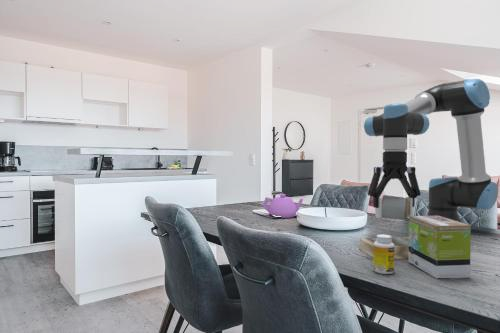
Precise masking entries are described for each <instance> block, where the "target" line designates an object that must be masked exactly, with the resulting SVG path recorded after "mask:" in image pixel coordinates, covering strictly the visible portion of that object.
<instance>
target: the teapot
mask: <svg viewBox="0 0 500 333" xmlns="http://www.w3.org/2000/svg"><path fill="white" fill-rule="evenodd" d="M269 201H270V204H269V205H268V203H269ZM303 201H304V198H300V199H299V200H298V202H297V204H296V203H295V202H294V200H293V199H292V197H289V196H286V194H285V193H280V194H279V196H275V197H274V198H271V197H267V196H266V197H265V198H264V200H263V204H262V208H263V209H265V211H267V213H268V214H269V215H270V214H271V215H275V216H281V218H280V219H289V218H294V217H295V216H296V215H297V214H296V212H297V211H298V212H299V210H300V208H301V206H302V204H303ZM298 212H297V213H298Z"/></svg>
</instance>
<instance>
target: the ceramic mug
mask: <svg viewBox="0 0 500 333" xmlns="http://www.w3.org/2000/svg"><path fill="white" fill-rule="evenodd" d="M381 198H382V218H381V219H393V220H407V219H409V217H408V211H409V200H408V199H407V198H406V197H402V196H394V195H387V194H383V195H382V197H381Z"/></svg>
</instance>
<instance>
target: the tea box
mask: <svg viewBox="0 0 500 333" xmlns="http://www.w3.org/2000/svg"><path fill="white" fill-rule="evenodd" d="M471 228H472V225H471V224H468V223H464V222H463V221H462V222H461V221H460V222H458V221H455V220H451V219H448V218H445V217H442V216H427V215H416V216H415V215H414V216H413V215H412V216H409V217H408V237H409V259H408V263H410V264H412V265H414V266H415V267H417V268H419V269H420V270H421V271H423V272H424V273H426V274H428V275H430V276H431V277H433V278H434V277H435V278H434V279H436V278H450V279H466V278H471V242H472V241H471V240H472V238H471V237H472V236H471V235H472V234H471V233H472V229H471Z"/></svg>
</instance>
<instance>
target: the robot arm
mask: <svg viewBox="0 0 500 333" xmlns="http://www.w3.org/2000/svg"><path fill="white" fill-rule="evenodd" d="M490 99H491V96H490V90H489V87H488V86H487V84H486V83H485V81H484V80H482V79H480V78H472V79H470V78H469V79H464V80H458V81H453V82H447V83H441V84H438V85H435V86H433V87H430V88H428V89H426V90H424V91H422V92H420V93H418V94H417V95H415V96H414V98H413V99H410V100H408V101H407V102H405V103H390V104H386V105H385V106H384V108H383V113H381V114H379V115H376V116H375V115H373V116H368V117H367V118H366V119H365V121H364V123H363V128H364V129H363V130H364V132H365V134H366V135H367V136H369V137H382V150H384V151H383V152H382V165H381V166H374V167H373V175H372V178H371V182H370V185H369V187H368V191H367V196H370V197H372V199H373V200H372V203H373V204H372V206H373V208H374V209H375V211H374V212H375V214H374V215H375V218H377V219H383V218H382V197H381V195H382V194H383V192H384V190H385V188H386V187H387V185H388V183H389V182H390V181H391V180H395V179H396V180H398V181H399V182H400V184H401V185H402V187H403V190H404V191H405V193H406V195H407V196H405V198H407V199H408V200H409V211H408V218H409V216H413V208H414V207H415V204H416V203H415V200H416V198H417V197H418V196H421V190H420V186H419V182H418V179H417V175H416V167H415V166H407V162H408V152H407V150H408V135H413V136H418V135H423V134H425V133H426V132H427V131H428V129H429V128H430V120H429V118H428V116H427V115H430V114H432V113H438V112H439V113H440V112H441V113H442V112H450V114H451V117H452V118H453V119H455V121H456V122H455V123H456V131H457V132H456V133H457V140H458V148H459V150H458V151H459V160H460V169H461V175H460V176H459V177H457V176H453V177H452V176H451V177H437V178H432V179H430V180H429V183H428V212H427V215H426V216H442V217H445V218H448V219H451V220H455V221H458V222H461V219H460V215H459V212H458V208H465V209H472V210H474V209H475V210H478V211H479V210H482V211H483V210H487V211H488V210H490V209H492V208H493V207H494V206H495V204H496V202H497V198H498V195H499V186H498V184H497V182H494V181H492V177H491V175H489V174H488V173H487V169H486V161H485V160H486V159H485V148H484V139H483V130H482V119H481V118H482V115H483V114H484V113H485V108H487V107H488V106H489V104H490ZM382 173H383V175H382V177H381V174H382ZM406 173H407V175H406ZM407 176H408V177H407ZM380 178H381V180H380ZM408 180H409V181H408Z"/></svg>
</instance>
